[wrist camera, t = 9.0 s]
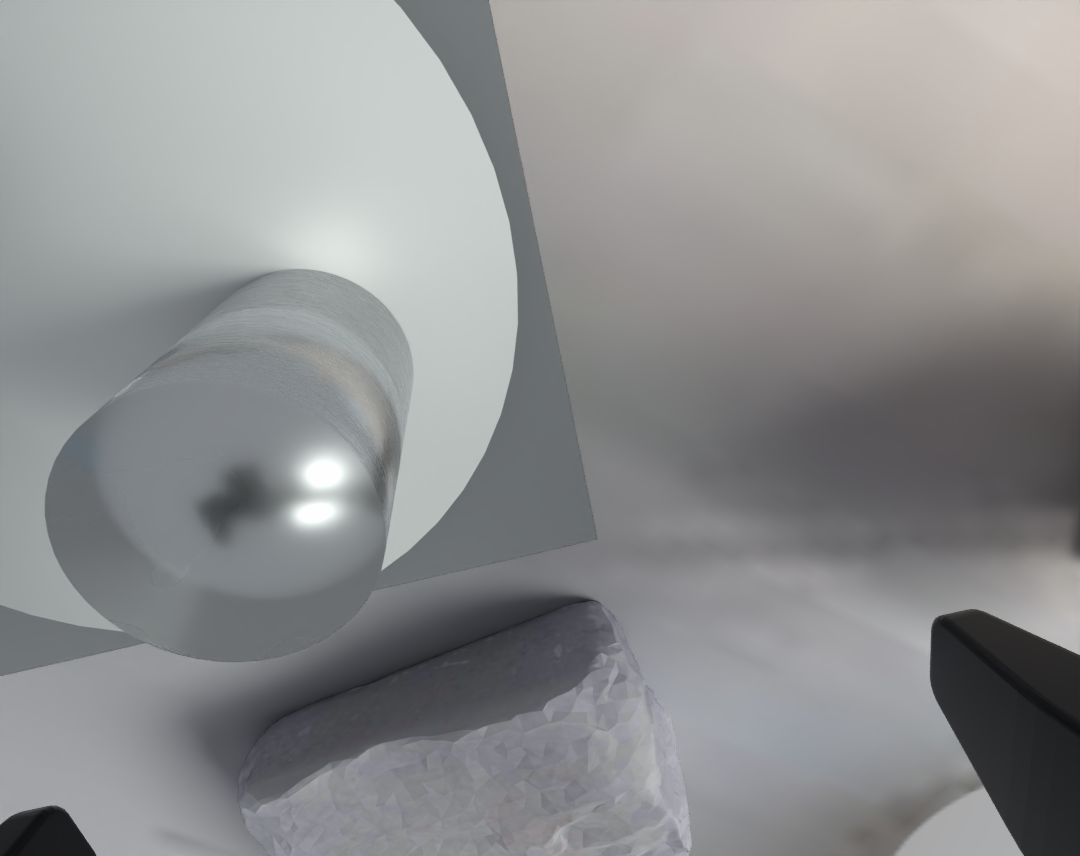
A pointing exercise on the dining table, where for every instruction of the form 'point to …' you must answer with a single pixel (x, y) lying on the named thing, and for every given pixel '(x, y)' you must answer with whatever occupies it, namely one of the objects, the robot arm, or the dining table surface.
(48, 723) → the dining table surface
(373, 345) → the cylinder
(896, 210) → the dining table surface
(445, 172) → the scale
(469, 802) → the stone block
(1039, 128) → the dining table surface
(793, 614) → the dining table surface
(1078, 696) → the robot arm
